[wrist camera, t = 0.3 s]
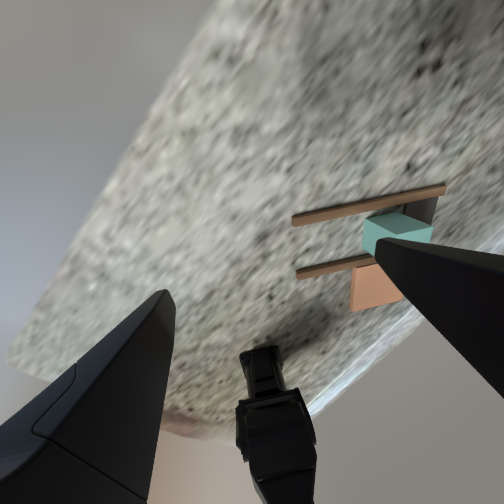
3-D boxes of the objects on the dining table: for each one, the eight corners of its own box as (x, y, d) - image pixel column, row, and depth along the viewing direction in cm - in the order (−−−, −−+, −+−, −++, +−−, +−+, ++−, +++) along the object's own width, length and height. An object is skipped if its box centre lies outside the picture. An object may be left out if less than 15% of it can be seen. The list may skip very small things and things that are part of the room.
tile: (397, 296, 32) (402, 300, 31) (349, 308, 32) (352, 312, 31) (408, 252, 28) (413, 255, 27) (353, 265, 28) (356, 268, 27)
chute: (422, 248, 28) (427, 250, 27) (295, 276, 27) (297, 280, 27) (440, 184, 24) (446, 186, 23) (291, 216, 23) (293, 218, 22)
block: (390, 240, 27) (424, 260, 22) (361, 247, 27) (389, 268, 22) (396, 211, 25) (433, 226, 21) (364, 218, 25) (396, 234, 20)
